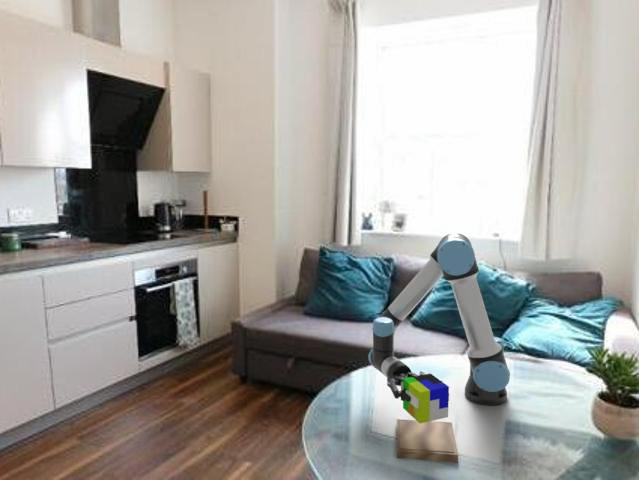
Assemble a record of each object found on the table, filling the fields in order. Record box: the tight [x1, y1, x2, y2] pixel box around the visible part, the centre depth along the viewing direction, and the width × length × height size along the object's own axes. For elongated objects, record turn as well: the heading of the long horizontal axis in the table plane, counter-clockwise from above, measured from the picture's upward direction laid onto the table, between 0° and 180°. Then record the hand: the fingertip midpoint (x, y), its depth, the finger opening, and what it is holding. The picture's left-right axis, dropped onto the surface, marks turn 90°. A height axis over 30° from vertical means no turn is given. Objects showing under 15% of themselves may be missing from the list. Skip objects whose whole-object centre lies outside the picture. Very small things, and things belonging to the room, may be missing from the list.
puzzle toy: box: [402, 373, 450, 424], centre depth 149 cm, size 10×10×10 cm
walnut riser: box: [396, 418, 459, 464], centre depth 151 cm, size 18×18×3 cm
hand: (433, 400), depth 145 cm, fingers closed on puzzle toy, 10 cm apart
